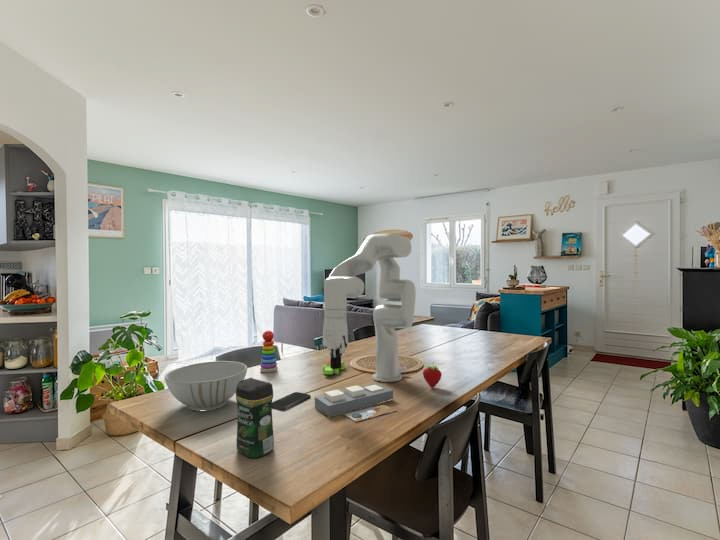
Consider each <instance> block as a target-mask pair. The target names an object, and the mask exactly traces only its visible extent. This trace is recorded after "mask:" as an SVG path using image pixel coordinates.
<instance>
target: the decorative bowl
mask: <svg viewBox="0 0 720 540" xmlns="http://www.w3.org/2000/svg"><path fill="white" fill-rule="evenodd" d="M247 373H248V366H247V365H246V364H245V363H243V362H239V361H230V360H215V361H213V360H212V361H203V362H196V363H191V364H187V365H183V366H180V367H176V368H174V369H171V370H169V371H168V372H167V373H165V375H164V381H165V384H166V386H167V388H168V390H169V392H170V394H171V395H172V396H173V397H174V398H175V399H176V400H177V401H178V402H180V403H181V404H183V405H184V406H187V407H188V409H189V408H190V409H192V410H191V411H193V410H199V411H198V412H201V411H200V410H210V411H213V410H212V409H214V410H217V409H216V408H218V409H220V408H222V407H224V406H225V405H226V404H227V403H228V401H229V400H230V399H231V398H233V397H234V396H235V395H236V386H237V384H238V383H239V381H241V380H245V379H246V376H247ZM223 405H224V406H223ZM221 406H222V407H221ZM219 407H220V408H219ZM190 409H189V410H190Z"/></svg>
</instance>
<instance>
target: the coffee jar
mask: <svg viewBox="0 0 720 540" xmlns="http://www.w3.org/2000/svg"><path fill="white" fill-rule="evenodd" d="M273 399H274V389H273V384H272V382H269V381H264V380H260V379H257V378H253V377H248V378H245V379H244V380H241V381H239V383H238V384H237V386H236V393H235V400H236V406H237V409H236V411H237V416H236V418H237V419H236V426H237V427H236V450H237V452H238V453H240V454H241V455H243V456H246V457H248V458H252V459H255V458H260V457H264V456H266V455H268V454H270V453H271V452H272V451H273V450H274V448H275V437H274V436H275V435H274V425H273V408H272V402H273Z"/></svg>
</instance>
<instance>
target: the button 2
mask: <svg viewBox="0 0 720 540" xmlns="http://www.w3.org/2000/svg"><path fill="white" fill-rule="evenodd" d="M364 389H365V390H367V391H369V392H371V393H373V392H377V391H381V390H383V388H382V387H379V386H377V385H371V386H367V387H364Z"/></svg>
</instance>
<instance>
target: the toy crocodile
mask: <svg viewBox="0 0 720 540" xmlns="http://www.w3.org/2000/svg"><path fill="white" fill-rule="evenodd" d="M344 369H345V361H343V360H341V368H339V369H332V368H331V359H330V360H329V361H328V363H327V364H325V365H323V369H322V371H323V372H322V373H323V374H324V375H333V374H334V375H339V374H340V373H339V371H341V370H344Z"/></svg>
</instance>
